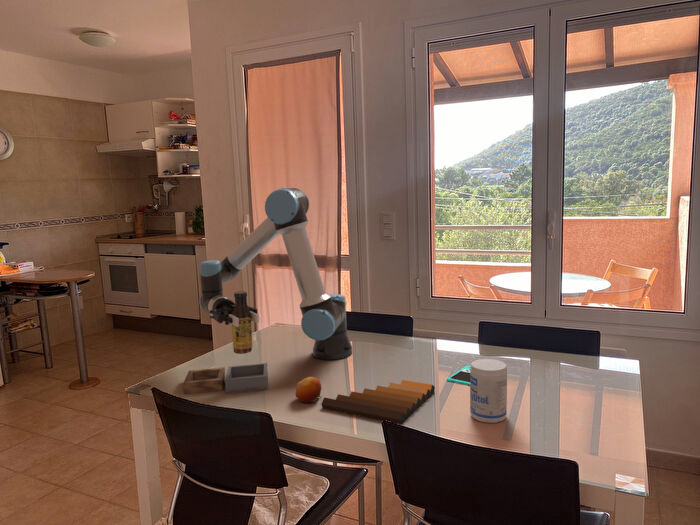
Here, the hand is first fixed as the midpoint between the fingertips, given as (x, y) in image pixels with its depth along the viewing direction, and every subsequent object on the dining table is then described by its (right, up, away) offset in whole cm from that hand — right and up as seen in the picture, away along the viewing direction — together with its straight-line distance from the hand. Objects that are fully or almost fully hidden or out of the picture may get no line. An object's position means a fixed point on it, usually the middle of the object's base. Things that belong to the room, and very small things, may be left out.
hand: (247, 320), depth 168 cm
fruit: (+20, -23, -8) cm, 32 cm away
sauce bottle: (-2, -11, +6) cm, 13 cm away
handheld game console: (+72, -19, +5) cm, 75 cm away
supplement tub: (+70, -23, -25) cm, 78 cm away
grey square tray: (-1, -22, +7) cm, 23 cm away
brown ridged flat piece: (+41, -23, -10) cm, 48 cm away
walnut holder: (-16, -22, +8) cm, 29 cm away
